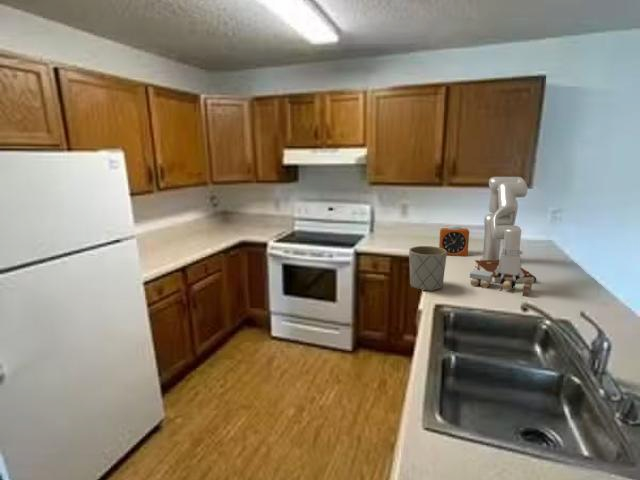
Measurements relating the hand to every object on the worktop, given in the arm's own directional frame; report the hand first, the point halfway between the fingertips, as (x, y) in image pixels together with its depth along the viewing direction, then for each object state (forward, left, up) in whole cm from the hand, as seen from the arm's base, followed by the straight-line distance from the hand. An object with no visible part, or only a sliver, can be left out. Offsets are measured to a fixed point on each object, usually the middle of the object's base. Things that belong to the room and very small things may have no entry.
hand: (507, 286), depth 196 cm
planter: (+17, -37, -2) cm, 41 cm away
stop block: (0, +9, -2) cm, 9 cm away
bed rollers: (0, -7, -2) cm, 7 cm away
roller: (0, 0, -1) cm, 1 cm away
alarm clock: (-54, -44, -2) cm, 70 cm away
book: (-26, -7, -2) cm, 27 cm away
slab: (0, -13, +3) cm, 13 cm away
